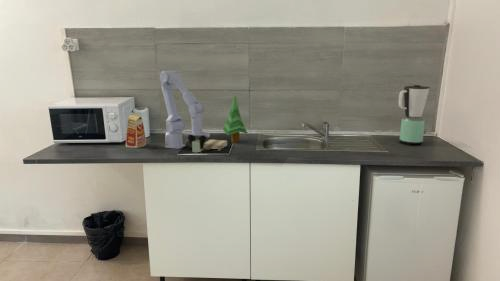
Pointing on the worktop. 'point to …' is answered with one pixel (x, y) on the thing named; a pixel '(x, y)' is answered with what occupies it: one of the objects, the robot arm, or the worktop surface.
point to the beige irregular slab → (215, 144)
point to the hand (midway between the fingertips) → (197, 148)
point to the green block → (196, 146)
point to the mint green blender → (413, 114)
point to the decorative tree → (234, 123)
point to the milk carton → (135, 132)
